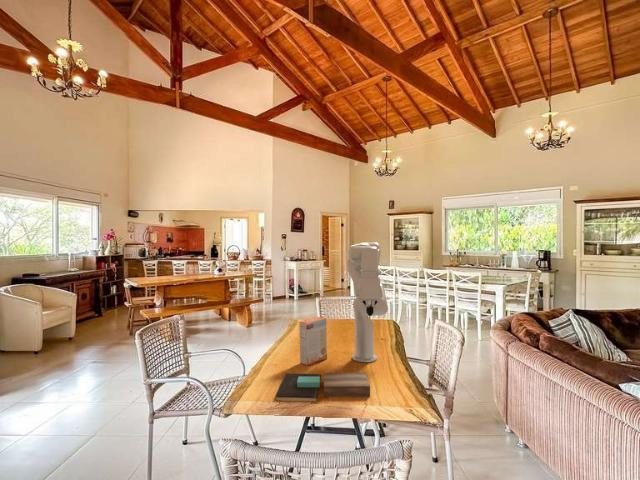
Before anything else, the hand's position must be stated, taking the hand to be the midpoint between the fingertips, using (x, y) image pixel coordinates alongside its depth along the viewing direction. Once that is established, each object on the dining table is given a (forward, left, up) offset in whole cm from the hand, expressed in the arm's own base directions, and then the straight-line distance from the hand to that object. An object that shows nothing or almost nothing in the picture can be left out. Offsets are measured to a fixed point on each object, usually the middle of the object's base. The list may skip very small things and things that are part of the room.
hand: (369, 315), depth 158 cm
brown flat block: (+14, -12, -27) cm, 33 cm away
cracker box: (-19, -26, -27) cm, 42 cm away
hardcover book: (+13, -31, -28) cm, 44 cm away
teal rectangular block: (+13, -27, -26) cm, 39 cm away
